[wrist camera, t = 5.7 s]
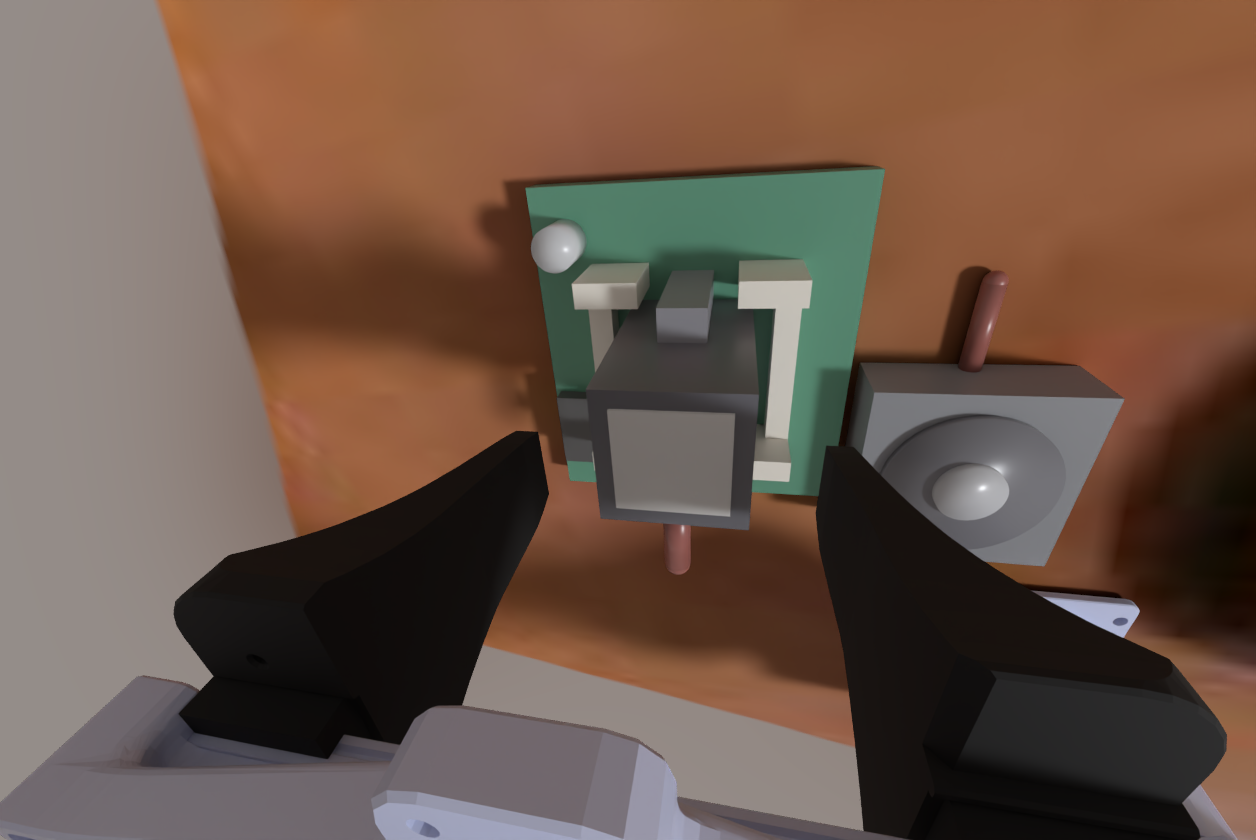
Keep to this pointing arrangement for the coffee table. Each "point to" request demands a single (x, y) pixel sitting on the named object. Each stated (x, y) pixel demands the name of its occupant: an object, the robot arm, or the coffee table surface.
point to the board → (716, 290)
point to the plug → (678, 415)
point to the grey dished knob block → (984, 439)
